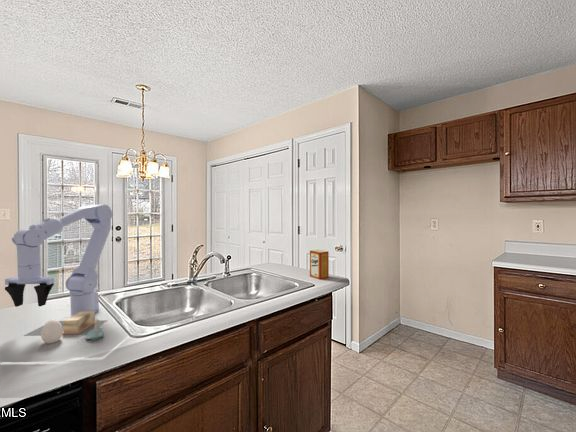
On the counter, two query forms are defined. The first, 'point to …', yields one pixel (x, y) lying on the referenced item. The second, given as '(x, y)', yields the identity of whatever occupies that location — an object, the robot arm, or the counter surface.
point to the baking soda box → (319, 264)
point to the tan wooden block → (78, 321)
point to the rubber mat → (38, 331)
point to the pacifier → (94, 332)
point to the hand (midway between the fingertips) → (30, 305)
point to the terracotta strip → (80, 330)
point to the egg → (51, 331)
